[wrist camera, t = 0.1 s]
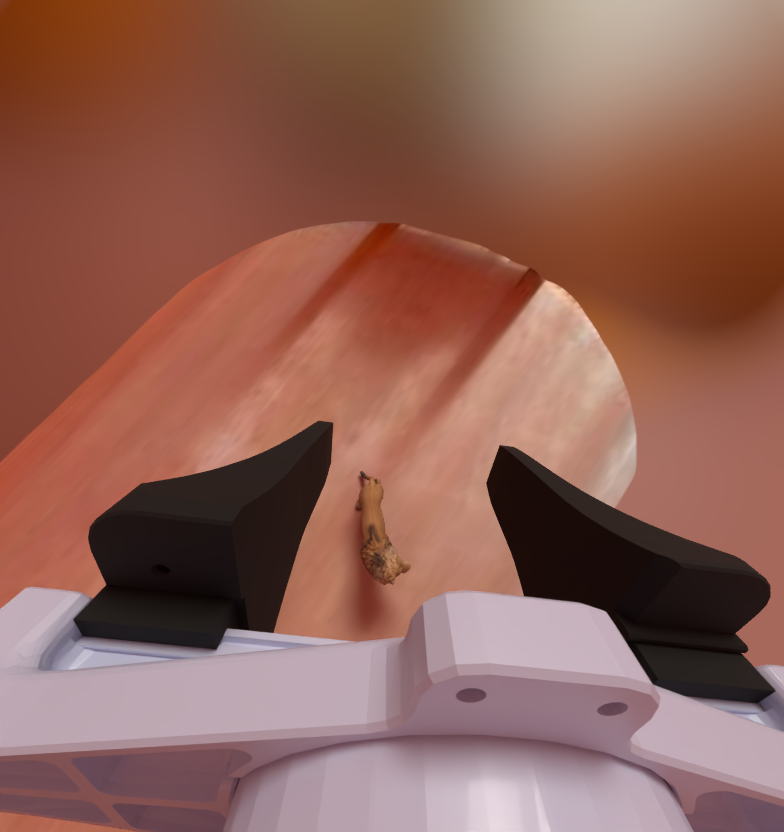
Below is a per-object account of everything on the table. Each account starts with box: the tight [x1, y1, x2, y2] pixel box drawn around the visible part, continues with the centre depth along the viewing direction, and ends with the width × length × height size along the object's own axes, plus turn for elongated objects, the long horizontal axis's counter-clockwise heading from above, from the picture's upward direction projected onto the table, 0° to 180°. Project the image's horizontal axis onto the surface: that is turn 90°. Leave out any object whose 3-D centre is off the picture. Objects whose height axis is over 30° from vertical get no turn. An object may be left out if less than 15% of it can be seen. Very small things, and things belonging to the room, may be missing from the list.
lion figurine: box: [356, 471, 411, 585], centre depth 37 cm, size 15×5×9 cm, turn 17°
